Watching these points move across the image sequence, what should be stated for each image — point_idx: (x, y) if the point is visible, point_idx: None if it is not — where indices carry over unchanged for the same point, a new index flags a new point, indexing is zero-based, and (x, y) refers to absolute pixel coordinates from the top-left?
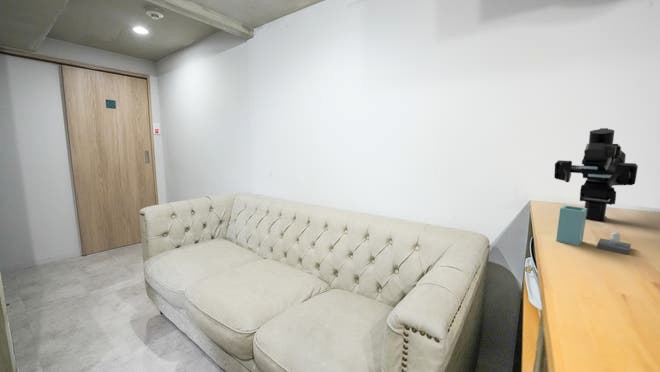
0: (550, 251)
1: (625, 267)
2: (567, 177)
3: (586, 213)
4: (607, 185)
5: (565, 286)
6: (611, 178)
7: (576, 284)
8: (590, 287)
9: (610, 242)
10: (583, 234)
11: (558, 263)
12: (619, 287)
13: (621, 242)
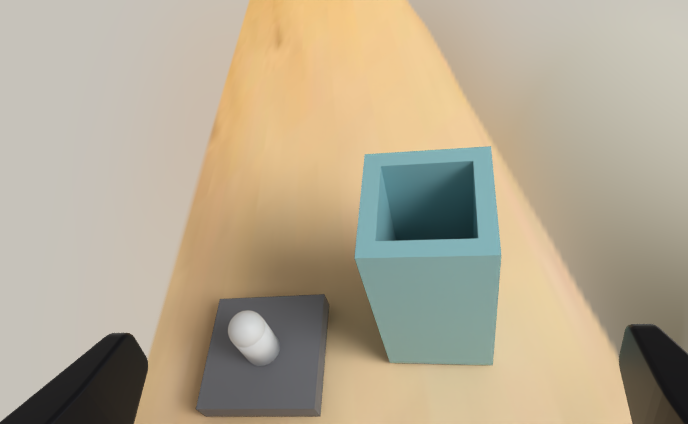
0: None
1: (255, 184)
2: (670, 358)
3: (361, 275)
4: (146, 363)
5: (371, 3)
6: (31, 417)
7: (355, 22)
8: (331, 30)
9: (275, 336)
10: (384, 344)
11: (412, 85)
12: (281, 66)
13: (230, 400)
